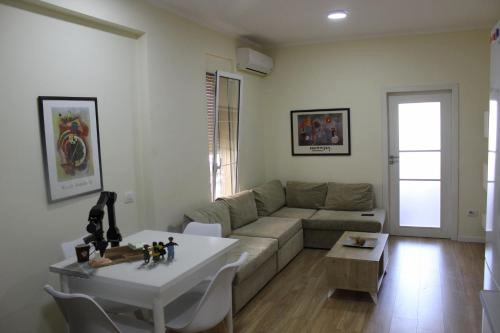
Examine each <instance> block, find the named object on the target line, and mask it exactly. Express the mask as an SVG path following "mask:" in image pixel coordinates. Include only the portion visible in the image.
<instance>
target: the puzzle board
mask: <svg viewBox="0 0 500 333" xmlns="http://www.w3.org/2000/svg"><path fill="white" fill-rule="evenodd" d="M137 243H138V242H135V243H134V244H137ZM140 243H142V242H140ZM143 249H144V248H141V249H136V250H134V249H132V248H130V247H129V246H128V244H125V245H120V246H119V247H113V248H111V247H109V248H108V247H107V248H106V250H105V261H101V262H96V261H95V258H94V259H89V261H88V264H89V265H90V266H91V267H92V268H93V269H98V268H102V267H107V266H111V265H117V264H121V263H127V262H132V261H137V260H141V259H144V253H140V251H142V250H143ZM149 254H150V258H152V257H153V256H151V255H152V253H151V252H149Z"/></svg>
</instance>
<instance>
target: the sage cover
mask: <svg viewBox="0 0 500 333" xmlns="http://www.w3.org/2000/svg"><path fill="white" fill-rule="evenodd" d="M136 243H137V244H135V243H133V242H130V241H129V242H127V245H128V246H129V247H130V248H132V249H134V250H136V249H141V248H143V249H144V247H143V245H145V244H148V245H149V247H148V248H151V247H153V245H152V244H150V243H148V242H146V241H143V242H142V243H141V242H136Z"/></svg>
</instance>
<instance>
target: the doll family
mask: <svg viewBox="0 0 500 333" xmlns="http://www.w3.org/2000/svg"><path fill="white" fill-rule="evenodd" d="M167 240H168V241H169V242H167V243H164V242H163V241H162V240H161V241H159V242H157V241H152V244H151V245H152V247H149V245H148V244H149V243H148V244H145V245H143V247H144V248H143V250H142V251H140V253H144V258H143V262H144V263H147V262H150V261H152V262H153V263H155V264H157V262H160V260H161V259H162V260H165V255H167V257H166V259H167V260H168V259H169V260H171V259H175V247H176V246H177V247H178V246H179V244H178V243H177V242H174V237H173V236H169V237H168V238H167ZM166 248H167V250H166ZM149 253H150V254H151V256H152V257H150V254H149ZM151 258H152V259H151Z"/></svg>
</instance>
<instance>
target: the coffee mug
mask: <svg viewBox="0 0 500 333" xmlns="http://www.w3.org/2000/svg"><path fill="white" fill-rule="evenodd" d="M92 247H94V245H93V244H91V243H89V244H87V245H86V244H85V243H84V242H83V243H78V244H75V245H74V250H75V255H76V261H77V262H78V263H86V262H89V260H90V257H91V256H92V255H93V254H95V252H94V251H96V250H95V249H94V250H93V251H92V252H91V253H90V250H91V248H92Z"/></svg>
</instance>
